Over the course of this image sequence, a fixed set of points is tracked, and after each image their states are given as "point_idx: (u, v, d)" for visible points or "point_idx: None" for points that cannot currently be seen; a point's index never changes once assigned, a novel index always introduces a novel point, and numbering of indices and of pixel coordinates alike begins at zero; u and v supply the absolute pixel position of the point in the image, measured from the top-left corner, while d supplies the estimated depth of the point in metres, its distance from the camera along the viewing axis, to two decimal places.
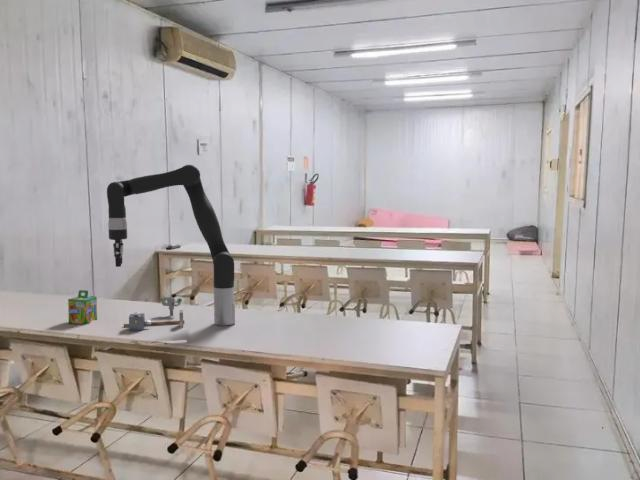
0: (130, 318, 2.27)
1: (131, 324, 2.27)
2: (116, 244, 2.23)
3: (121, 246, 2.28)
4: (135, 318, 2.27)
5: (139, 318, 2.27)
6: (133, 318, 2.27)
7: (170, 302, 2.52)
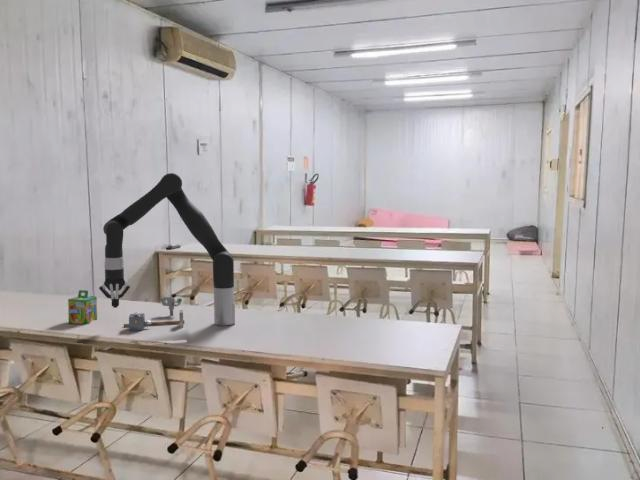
0: (130, 318, 2.27)
1: (131, 324, 2.27)
2: (129, 287, 2.28)
3: None
4: (135, 318, 2.27)
5: (139, 318, 2.27)
6: (133, 318, 2.27)
7: (170, 302, 2.52)
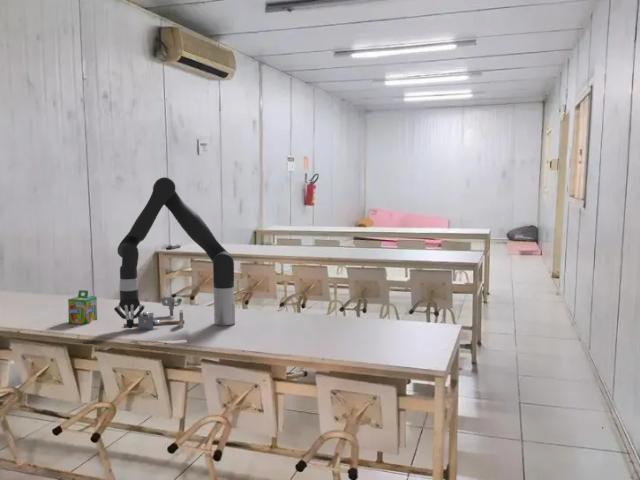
0: (139, 317, 2.27)
1: (140, 323, 2.28)
2: None
3: None
4: (144, 317, 2.28)
5: (148, 317, 2.28)
6: (142, 317, 2.28)
7: (170, 302, 2.52)
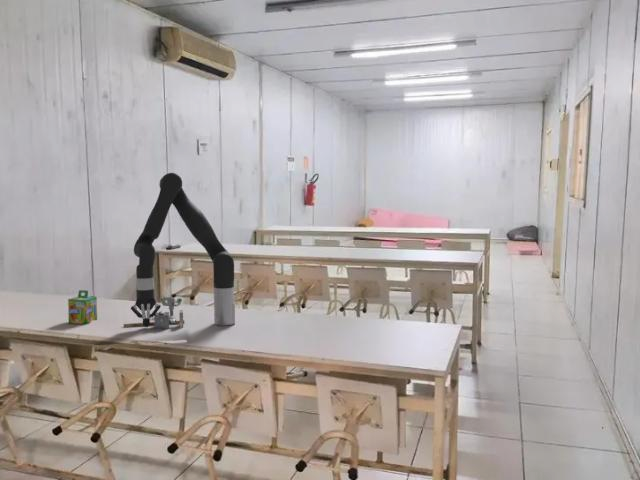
0: (155, 317, 2.29)
1: (156, 322, 2.29)
2: None
3: None
4: (160, 317, 2.30)
5: (164, 317, 2.30)
6: (158, 317, 2.29)
7: (170, 302, 2.52)
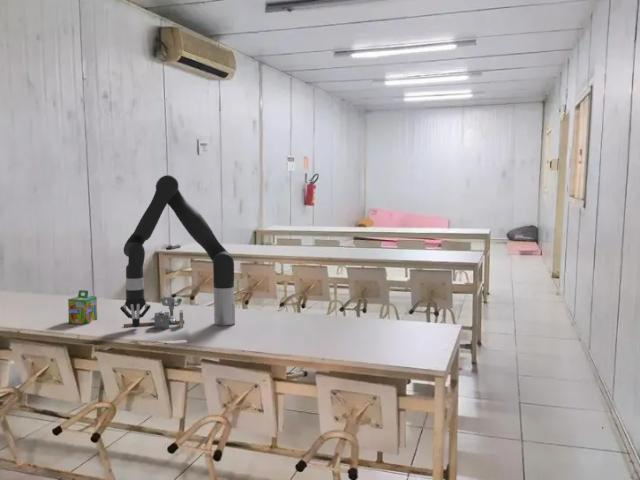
0: (155, 317, 2.29)
1: (156, 322, 2.29)
2: (149, 307, 2.31)
3: None
4: (160, 317, 2.30)
5: (164, 317, 2.30)
6: (158, 317, 2.29)
7: (170, 302, 2.52)
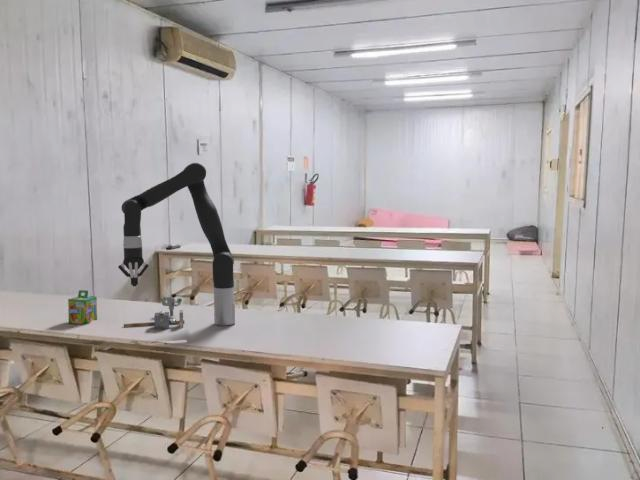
0: (155, 317, 2.29)
1: (156, 322, 2.29)
2: None
3: None
4: (160, 317, 2.30)
5: (164, 317, 2.30)
6: (158, 317, 2.29)
7: (170, 302, 2.52)
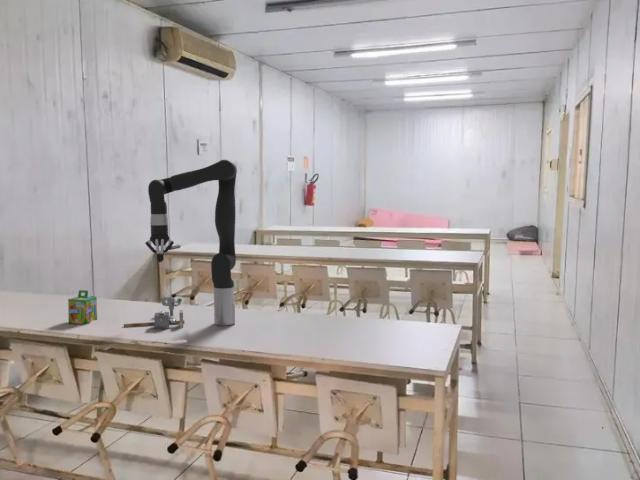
0: (155, 317, 2.29)
1: (156, 322, 2.29)
2: (173, 243, 2.41)
3: None
4: (160, 317, 2.30)
5: (164, 317, 2.30)
6: (158, 317, 2.29)
7: (170, 302, 2.52)
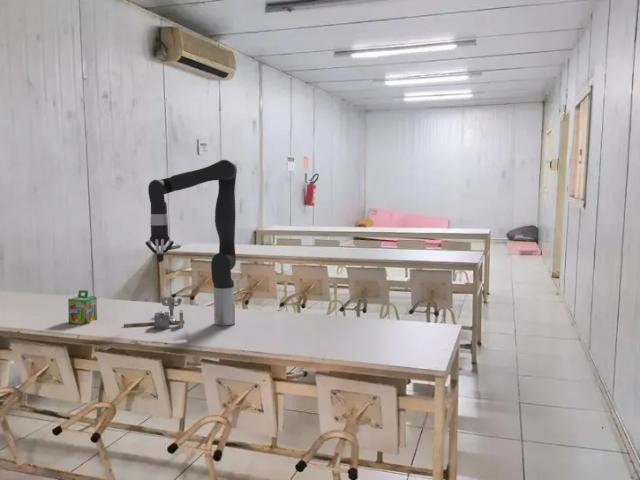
0: (155, 317, 2.29)
1: (156, 322, 2.29)
2: (173, 243, 2.41)
3: None
4: (160, 317, 2.30)
5: (164, 317, 2.30)
6: (158, 317, 2.29)
7: (170, 302, 2.52)
